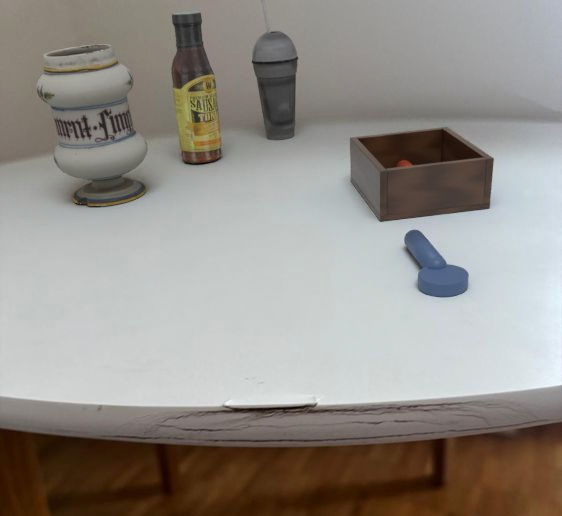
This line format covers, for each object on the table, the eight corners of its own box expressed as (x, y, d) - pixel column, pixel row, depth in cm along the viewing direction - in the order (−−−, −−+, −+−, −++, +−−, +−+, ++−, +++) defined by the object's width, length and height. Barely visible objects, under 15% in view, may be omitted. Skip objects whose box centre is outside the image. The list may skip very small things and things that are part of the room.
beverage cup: (294, 142, 110) (285, -1, 99) (252, 141, 112) (238, 2, 101) (308, 130, 115) (300, -6, 105) (267, 130, 118) (256, -3, 107)
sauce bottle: (201, 167, 101) (180, 15, 91) (173, 162, 105) (150, 15, 95) (233, 156, 105) (216, 9, 95) (205, 151, 109) (186, 9, 99)
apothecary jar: (45, 205, 92) (5, 57, 82) (104, 178, 100) (75, 42, 91) (116, 213, 86) (83, 57, 77) (172, 184, 95) (148, 40, 86)
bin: (444, 170, 91) (447, 126, 88) (489, 208, 78) (494, 158, 75) (350, 181, 90) (349, 137, 87) (380, 221, 77) (379, 171, 74)
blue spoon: (390, 248, 71) (390, 229, 69) (432, 243, 71) (432, 224, 70) (425, 299, 60) (426, 278, 59) (475, 293, 61) (476, 272, 59)
